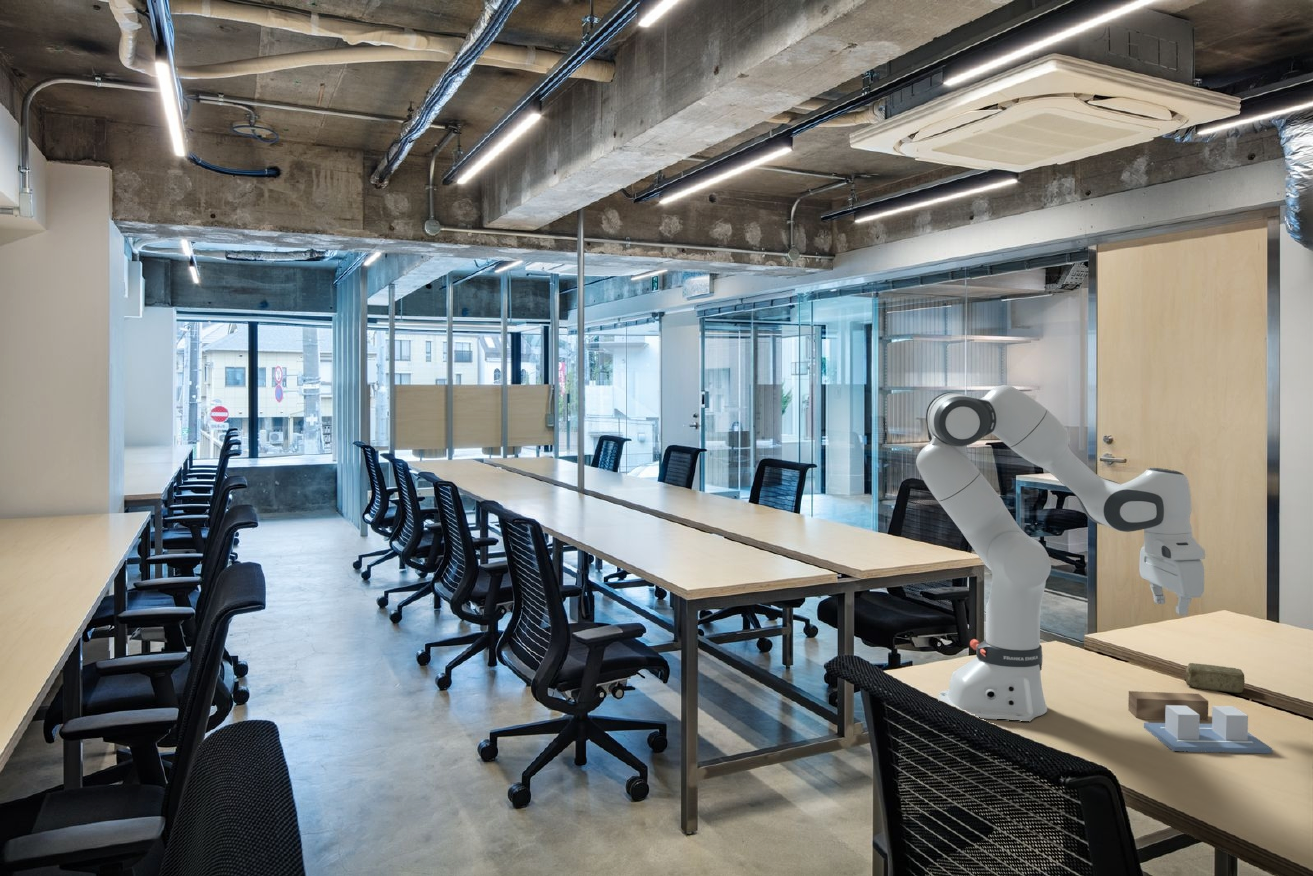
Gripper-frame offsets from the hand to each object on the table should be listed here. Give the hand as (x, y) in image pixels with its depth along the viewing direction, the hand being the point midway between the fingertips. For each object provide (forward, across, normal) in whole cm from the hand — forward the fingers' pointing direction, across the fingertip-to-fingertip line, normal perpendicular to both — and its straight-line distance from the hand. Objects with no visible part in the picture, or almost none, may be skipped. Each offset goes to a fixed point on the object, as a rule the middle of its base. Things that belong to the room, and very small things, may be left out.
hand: (1170, 608), depth 186 cm
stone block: (+24, -18, +18) cm, 35 cm away
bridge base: (+23, +14, -1) cm, 27 cm away
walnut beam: (+23, 0, -2) cm, 23 cm away
